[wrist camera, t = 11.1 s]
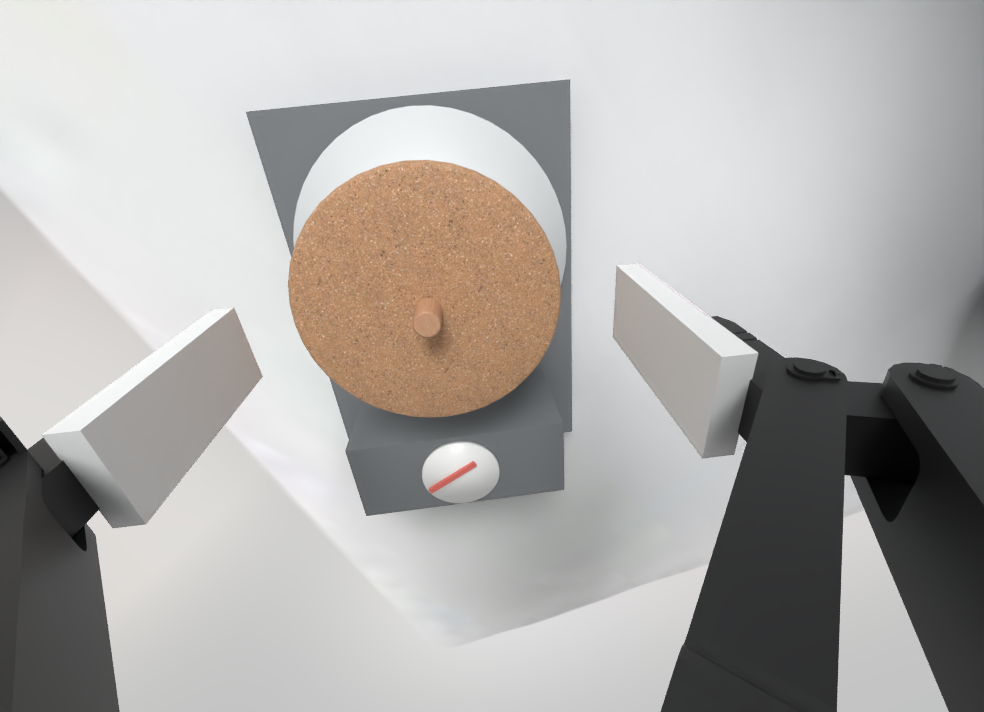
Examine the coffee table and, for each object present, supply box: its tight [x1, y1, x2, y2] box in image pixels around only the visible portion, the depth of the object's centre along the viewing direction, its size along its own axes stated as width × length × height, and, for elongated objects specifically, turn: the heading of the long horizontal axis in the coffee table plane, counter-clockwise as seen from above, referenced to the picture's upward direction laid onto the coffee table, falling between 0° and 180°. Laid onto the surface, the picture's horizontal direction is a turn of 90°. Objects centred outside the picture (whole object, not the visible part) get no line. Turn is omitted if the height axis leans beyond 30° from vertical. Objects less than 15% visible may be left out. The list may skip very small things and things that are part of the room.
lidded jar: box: [288, 160, 561, 417], centre depth 19 cm, size 11×11×9 cm
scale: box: [246, 80, 572, 516], centre depth 24 cm, size 16×22×9 cm
